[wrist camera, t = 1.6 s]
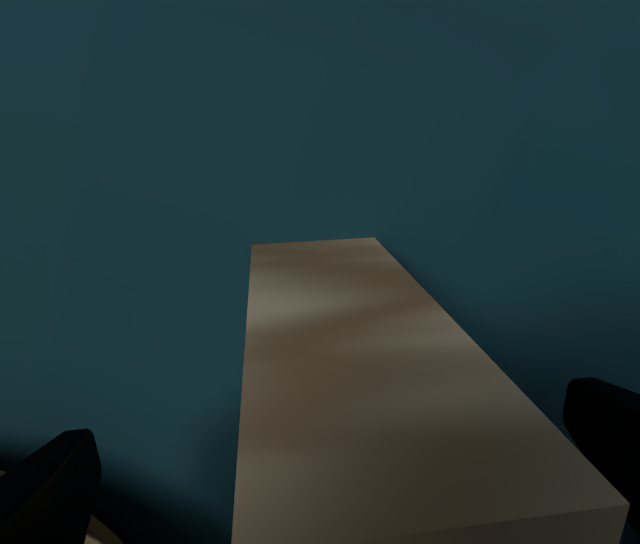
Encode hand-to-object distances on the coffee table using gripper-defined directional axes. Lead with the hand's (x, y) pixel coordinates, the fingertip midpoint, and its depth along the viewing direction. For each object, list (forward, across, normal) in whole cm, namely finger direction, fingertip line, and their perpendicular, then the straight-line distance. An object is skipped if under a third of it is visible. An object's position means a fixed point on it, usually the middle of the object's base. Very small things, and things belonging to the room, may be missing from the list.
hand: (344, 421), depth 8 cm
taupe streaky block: (+4, 0, 0) cm, 4 cm away
